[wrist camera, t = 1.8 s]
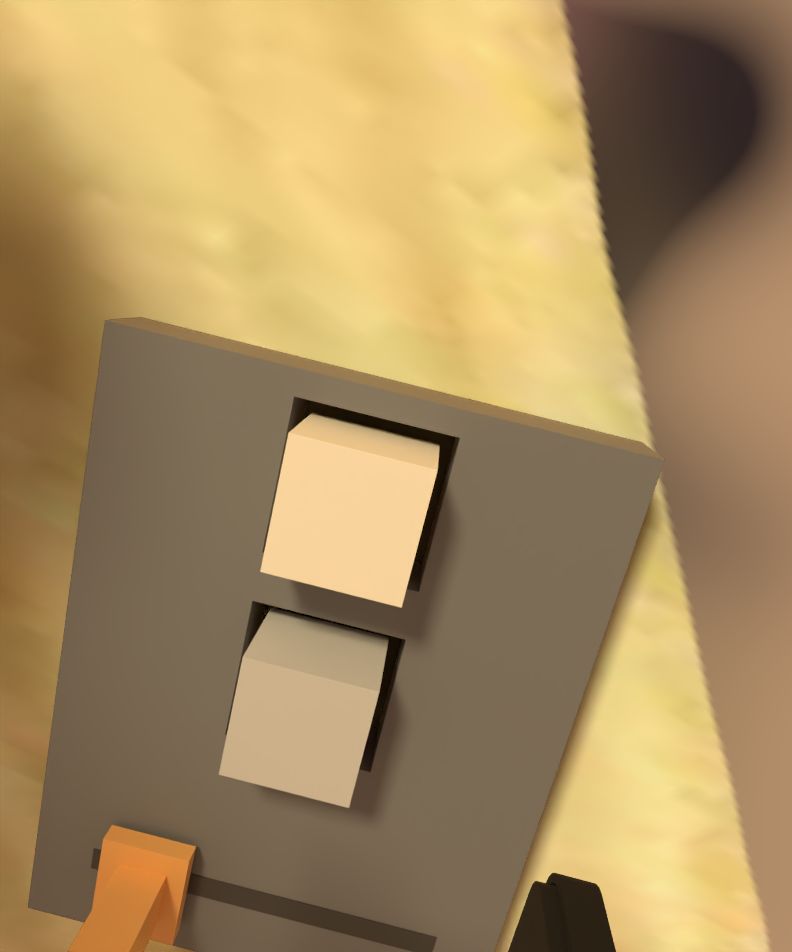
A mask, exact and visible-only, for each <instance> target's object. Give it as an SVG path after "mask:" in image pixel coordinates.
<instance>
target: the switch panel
mask: <svg viewBox="0 0 792 952" xmlns="http://www.w3.org/2000/svg"><path fill="white" fill-rule="evenodd" d="M307 400H310V401H314V402H318V403H322V404H326V405H330V406H334V407H338V408H342V409H346V410H350V411H354V412H358V413H362V414H366V415H370V416H374V417H378V418H382V419H386V420H390V421H394V422H398V423H402V424H406V425H410V426H414V427H418V428H422V429H426V430H430V431H434V432H438V433H442V434H446V435H450V436H454V437H455V441H454V445H453V448H452V452H451V456H450V460H449V463H448V467H447V471H446V475H445V478H444V482H443V486H442V490H441V493H440V497H439V501H438V505H437V508H436V512H435V516H434V520H433V524H432V527H431V531H430V535H429V539H428V542H427V546H426V550H425V554H424V557H423V561H422V563H420V562H416V561H414V563H413V566H412V570H411V574H410V578H409V581H408V585H407V589H406V593H405V597H404V600H403V604H402V608H401V607H397V606H393V605H389V604H385V603H381V602H377V601H373V600H369V599H365V598H361V597H357V596H353V595H349V594H345V593H342V592H338V591H334V590H330V589H326V588H322V587H318V586H314V585H310V584H306V583H302V582H298V581H294V580H290V579H286V578H282V577H279V576H275V575H271V574H267V573H263V572H260V570H261V565H262V560H263V556H264V551H265V546H266V541H267V536H268V531H269V526H270V521H271V516H272V512H273V507H274V502H275V497H276V492H277V487H278V482H279V477H280V472H281V468H282V463H283V458H284V453H285V448H286V443H287V438H288V433H289V432H290V431H291V430H292V429H294V428H295V427H296V426H297V425H298V424H299V423H301V422H302V421H303V418H304V413H305V408H306V403H307ZM663 463H664V459H663V458H662V457H660V456H659V455H658V454H657V453H655V452H654V451H653V450H651V449H650V448H649V447H647V446H646V445H645V444H644V443H642V442H638V441H634V440H630V439H626V438H622V437H618V436H614V435H610V434H606V433H602V432H598V431H594V430H590V429H586V428H582V427H578V426H574V425H570V424H566V423H562V422H558V421H554V420H550V419H546V418H542V417H538V416H534V415H530V414H526V413H522V412H518V411H514V410H510V409H506V408H502V407H498V406H494V405H490V404H486V403H482V402H478V401H474V400H470V399H466V398H462V397H458V396H454V395H450V394H446V393H442V392H438V391H434V390H430V389H426V388H422V387H418V386H414V385H410V384H406V383H402V382H398V381H394V380H390V379H386V378H382V377H378V376H374V375H370V374H366V373H362V372H358V371H354V370H350V369H346V368H342V367H338V366H334V365H330V364H326V363H322V362H318V361H314V360H310V359H306V358H302V357H298V356H294V355H290V354H286V353H282V352H278V351H274V350H270V349H266V348H262V347H258V346H254V345H250V344H246V343H242V342H238V341H234V340H230V339H226V338H222V337H218V336H214V335H210V334H206V333H202V332H198V331H194V330H190V329H186V328H182V327H178V326H174V325H170V324H166V323H162V322H158V321H154V320H150V319H146V318H142V317H137V318H124V319H110V320H105V324H104V332H103V339H102V347H101V355H100V362H99V370H98V377H97V385H96V393H95V400H94V408H93V415H92V423H91V431H90V438H89V446H88V453H87V461H86V469H85V476H84V484H83V491H82V499H81V507H80V514H79V522H78V529H77V537H76V545H75V552H74V560H73V568H72V575H71V583H70V590H69V598H68V606H67V613H66V621H65V628H64V636H63V644H62V651H61V659H60V666H59V674H58V682H57V689H56V697H55V704H54V712H53V720H52V727H51V735H50V742H49V750H48V758H47V765H46V773H45V781H44V788H43V796H42V803H41V811H40V819H39V826H38V834H37V841H36V849H35V857H34V864H33V872H32V879H31V887H30V895H29V902H28V908H31V909H35V910H39V911H43V912H47V913H50V914H54V915H58V916H62V917H66V918H70V919H73V920H77V921H81V922H85V921H86V919H87V918H88V916H89V914H90V912H91V911H92V906H93V899H94V893H95V887H96V881H97V875H98V868H99V862H100V856H101V850H102V843H103V838H104V837H105V835H106V834H107V832H108V831H109V829H110V827H111V826H112V825H115V826H119V827H123V828H126V829H130V830H134V831H138V832H142V833H146V834H150V835H153V836H157V837H161V838H165V839H169V840H173V841H177V842H181V843H184V844H188V845H192V846H196V849H195V854H194V859H193V864H192V869H191V874H190V879H189V884H188V889H187V894H186V899H185V904H184V909H183V914H182V919H181V924H180V929H179V931H178V934H177V936H176V938H175V941H174V943H173V946H177V947H181V948H185V949H188V950H192V951H196V952H494V951H495V948H496V945H497V942H498V939H499V936H500V934H501V931H502V928H503V925H504V922H505V919H506V916H507V913H508V910H509V908H510V905H511V902H512V899H513V896H514V893H515V890H516V887H517V885H518V882H519V879H520V876H521V873H522V870H523V867H524V864H525V861H526V859H527V856H528V853H529V850H530V847H531V844H532V841H533V838H534V835H535V833H536V830H537V827H538V824H539V821H540V818H541V815H542V812H543V810H544V807H545V804H546V801H547V798H548V795H549V792H550V789H551V786H552V784H553V781H554V778H555V775H556V772H557V769H558V766H559V763H560V760H561V758H562V755H563V752H564V749H565V746H566V743H567V740H568V737H569V735H570V732H571V729H572V726H573V723H574V720H575V717H576V714H577V711H578V709H579V706H580V703H581V700H582V697H583V694H584V691H585V688H586V685H587V683H588V680H589V677H590V674H591V671H592V668H593V665H594V662H595V660H596V657H597V654H598V651H599V648H600V645H601V642H602V639H603V636H604V634H605V631H606V628H607V625H608V622H609V619H610V616H611V613H612V610H613V608H614V605H615V602H616V599H617V596H618V593H619V590H620V587H621V584H622V582H623V579H624V576H625V573H626V570H627V567H628V564H629V561H630V559H631V556H632V553H633V550H634V547H635V544H636V541H637V538H638V535H639V533H640V530H641V527H642V524H643V521H644V518H645V515H646V512H647V509H648V507H649V504H650V501H651V498H652V495H653V492H654V489H655V486H656V484H657V481H658V478H659V475H660V472H661V469H662V466H663ZM264 604H267V605H271V606H275V607H279V608H283V609H287V610H291V611H295V612H299V613H303V614H307V615H311V616H315V617H319V618H322V619H326V620H330V621H334V622H338V623H342V624H346V625H350V626H354V627H358V628H362V629H366V630H370V631H374V632H378V633H381V634H385V635H389V636H393V637H397V638H401V639H402V640H401V644H400V647H399V651H398V655H397V659H396V662H395V666H394V670H393V674H392V677H391V681H390V685H389V689H388V692H387V696H386V700H385V704H384V707H383V711H382V715H381V719H380V722H379V726H378V729H377V728H374V727H370V730H369V733H368V737H367V741H366V745H365V749H364V752H363V756H362V760H361V764H360V768H359V771H358V775H357V779H356V783H355V787H354V790H353V794H352V798H351V802H350V806H349V808H347V807H343V806H339V805H335V804H331V803H327V802H323V801H320V800H316V799H312V798H308V797H304V796H300V795H296V794H292V793H289V792H285V791H281V790H277V789H273V788H269V787H265V786H261V785H257V784H254V783H250V782H246V781H242V780H238V779H234V778H230V777H226V776H223V775H219V771H220V766H221V761H222V756H223V751H224V746H225V741H226V736H227V731H228V727H229V722H230V717H231V712H232V707H233V702H234V697H235V692H236V688H237V683H238V678H239V673H240V668H241V663H242V658H243V656H244V654H245V652H246V650H247V649H248V647H249V645H250V643H251V642H252V640H253V638H254V636H255V635H256V633H257V631H258V630H259V628H260V624H261V619H262V614H263V609H264Z"/></svg>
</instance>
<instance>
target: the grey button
mask: <svg viewBox="0 0 792 952" xmlns="http://www.w3.org/2000/svg"><path fill="white" fill-rule="evenodd" d="M388 641H389V638H388V637H385V636H381V635H377V634H373V633H369V632H365V631H361V630H357V629H353V628H349V627H345V626H341V625H337V624H333V623H330V622H326V621H322V620H318V619H314V618H310V617H306V616H302V615H298V614H294V613H290V612H286V611H282V610H278V609H275V608H271V609H270V610H269V612H268V614H267V616H266V617H265V619H264V621H263V623H262V624H261V626H260V628H259V630H258V631H257V633H256V635H255V636H254V638H253V640H252V642H251V643H250V645H249V647H248V649H247V650H246V652H245V654H244V656H243V658H242V663H241V668H240V673H239V678H238V683H237V688H236V692H235V697H234V702H233V707H232V712H231V717H230V722H229V727H228V731H227V736H226V741H225V746H224V751H223V756H222V761H221V766H220V771H219V775H223V776H226V777H230V778H234V779H238V780H242V781H246V782H250V783H254V784H257V785H261V786H265V787H269V788H273V789H277V790H281V791H285V792H289V793H292V794H296V795H300V796H304V797H308V798H312V799H316V800H320V801H323V802H327V803H331V804H335V805H339V806H343V807H347V808H349V806H350V802H351V798H352V794H353V790H354V787H355V783H356V779H357V775H358V771H359V768H360V764H361V760H362V756H363V752H364V749H365V745H366V741H367V737H368V733H369V730H370V726H371V722H372V718H373V714H374V711H375V707H376V703H377V699H378V695H379V692H380V686H381V680H382V675H383V669H384V664H385V658H386V653H387V647H388Z"/></svg>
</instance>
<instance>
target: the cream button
mask: <svg viewBox="0 0 792 952" xmlns="http://www.w3.org/2000/svg"><path fill="white" fill-rule="evenodd" d="M439 447H440V444H436V443H432V442H428V441H424V440H420V439H416V438H412V437H408V436H404V435H400V434H396V433H392V432H388V431H384V430H380V429H376V428H372V427H368V426H364V425H360V424H356V423H352V422H348V421H344V420H340V419H336V418H332V417H328V416H324V415H320V414H316V413H311V414H310V415H309V416H308V417H306V418H305V419H304V420H303V421H302V422H301V423H299V424H298V425H297V426H296V427H295V428H294V429H292V430H291V431H290V432H289V433H288V438H287V443H286V448H285V453H284V458H283V463H282V468H281V472H280V477H279V482H278V487H277V492H276V497H275V502H274V507H273V512H272V516H271V521H270V526H269V531H268V536H267V541H266V546H265V551H264V556H263V560H262V565H261V570H260V572H263V573H267V574H271V575H275V576H279V577H282V578H286V579H290V580H294V581H298V582H302V583H306V584H310V585H314V586H318V587H322V588H326V589H330V590H334V591H338V592H342V593H345V594H349V595H353V596H357V597H361V598H365V599H369V600H373V601H377V602H381V603H385V604H389V605H393V606H397V607H401V608H402V604H403V600H404V597H405V593H406V589H407V585H408V581H409V578H410V574H411V570H412V566H413V563H414V559H415V555H416V551H417V547H418V544H419V540H420V536H421V532H422V528H423V525H424V521H425V517H426V513H427V509H428V506H429V502H430V498H431V494H432V490H433V487H434V483H435V479H436V475H437V471H438V461H439Z"/></svg>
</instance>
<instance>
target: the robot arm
mask: <svg viewBox="0 0 792 952" xmlns="http://www.w3.org/2000/svg"><path fill="white" fill-rule="evenodd" d="M508 952H616V950H615V946H614V942H613V938H612V934H611V930H610V926H609V922H608V918H607V914H606V910H605V906H604V902H603V898H602V894H601V891H600V888H599V887H598V886H597V885H596V884H595V883H591V882H587V881H583V880H580V879H576V878H572V877H568V876H564V875H561V874H557V873H552V874H551V875H550V876H549V878H548V880H547V882H546V883H542V882H538V881H535V882H534V883H533V885H532V887H531V889H530V892H529V895H528V897H527V900H526V903H525V906H524V909H523V911H522V914H521V917H520V920H519V923H518V925H517V928H516V931H515V934H514V937H513V940H512V942H511V945H510V948H509V951H508Z"/></svg>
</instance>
